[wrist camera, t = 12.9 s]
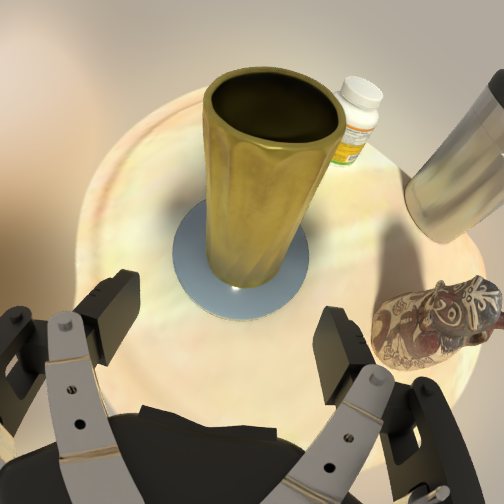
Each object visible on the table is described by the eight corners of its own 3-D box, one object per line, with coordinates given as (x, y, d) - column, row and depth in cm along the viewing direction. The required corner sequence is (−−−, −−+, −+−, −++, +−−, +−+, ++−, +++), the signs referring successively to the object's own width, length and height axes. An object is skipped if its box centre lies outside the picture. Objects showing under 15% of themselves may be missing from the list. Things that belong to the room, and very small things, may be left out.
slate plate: (291, 198, 26) (295, 189, 24) (314, 312, 22) (320, 309, 20) (175, 204, 24) (172, 195, 23) (178, 326, 20) (175, 324, 19)
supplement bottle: (313, 130, 30) (337, 65, 21) (354, 143, 30) (386, 84, 21) (309, 160, 28) (337, 90, 19) (354, 175, 28) (393, 112, 19)
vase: (190, 244, 21) (160, 88, 8) (250, 205, 23) (281, 52, 10) (237, 305, 20) (270, 194, 7) (298, 258, 22) (387, 126, 9)
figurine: (395, 282, 24) (484, 228, 13) (436, 327, 22) (528, 296, 11) (356, 339, 21) (458, 312, 10) (403, 385, 20) (506, 382, 9)
